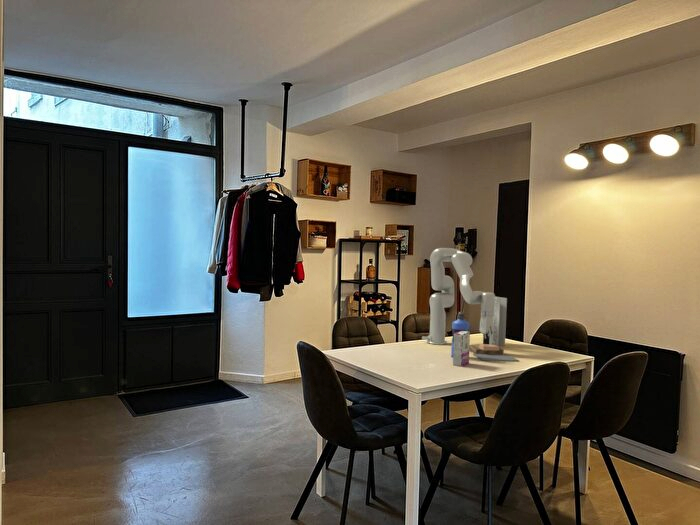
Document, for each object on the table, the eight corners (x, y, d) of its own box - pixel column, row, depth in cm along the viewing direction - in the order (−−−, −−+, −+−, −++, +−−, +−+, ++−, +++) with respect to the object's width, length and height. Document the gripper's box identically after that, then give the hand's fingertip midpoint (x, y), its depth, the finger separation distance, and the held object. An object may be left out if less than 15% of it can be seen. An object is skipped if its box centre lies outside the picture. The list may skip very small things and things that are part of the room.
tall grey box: (483, 342, 341) (485, 296, 340) (489, 342, 343) (491, 296, 343) (497, 346, 328) (500, 298, 328) (504, 346, 331) (506, 298, 330)
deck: (476, 354, 298) (476, 349, 298) (468, 350, 311) (468, 345, 311) (503, 355, 300) (503, 349, 300) (494, 350, 313) (495, 345, 313)
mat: (482, 360, 282) (483, 359, 282) (473, 354, 297) (473, 353, 297) (519, 361, 284) (519, 360, 284) (507, 355, 299) (507, 354, 299)
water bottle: (447, 356, 289) (449, 311, 289) (456, 354, 296) (458, 310, 295) (462, 359, 283) (464, 313, 282) (471, 357, 290) (473, 312, 289)
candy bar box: (460, 361, 277) (461, 330, 277) (469, 363, 274) (470, 331, 274) (452, 365, 268) (453, 333, 267) (461, 366, 265) (463, 334, 265)
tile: (483, 350, 297) (483, 346, 296) (479, 347, 304) (479, 344, 303) (498, 350, 297) (499, 346, 297) (494, 348, 304) (494, 344, 304)
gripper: (476, 312, 312) (475, 343, 312) (485, 315, 297) (484, 347, 298) (488, 312, 313) (487, 343, 313) (498, 315, 298) (497, 347, 298)
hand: (486, 345), depth 305 cm, fingers closed
